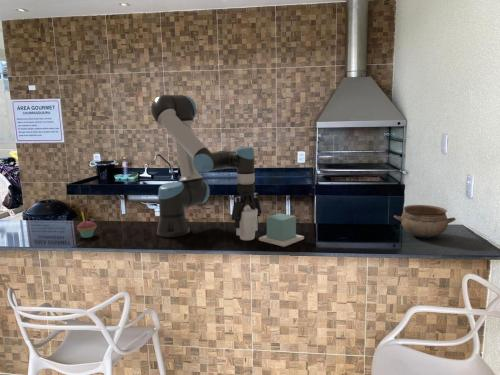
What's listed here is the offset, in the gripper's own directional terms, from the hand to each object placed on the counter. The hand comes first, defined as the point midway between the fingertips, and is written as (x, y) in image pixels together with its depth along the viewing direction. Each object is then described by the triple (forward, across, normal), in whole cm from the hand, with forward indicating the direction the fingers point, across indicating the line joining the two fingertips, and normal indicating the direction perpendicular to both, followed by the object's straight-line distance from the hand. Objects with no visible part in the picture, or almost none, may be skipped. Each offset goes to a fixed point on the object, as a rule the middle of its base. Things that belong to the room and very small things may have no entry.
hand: (247, 232), depth 179 cm
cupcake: (+3, +45, -60) cm, 75 cm away
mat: (+3, -8, +13) cm, 15 cm away
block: (+1, -8, +13) cm, 15 cm away
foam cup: (+3, 0, 0) cm, 3 cm away
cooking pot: (+3, -51, +58) cm, 77 cm away
